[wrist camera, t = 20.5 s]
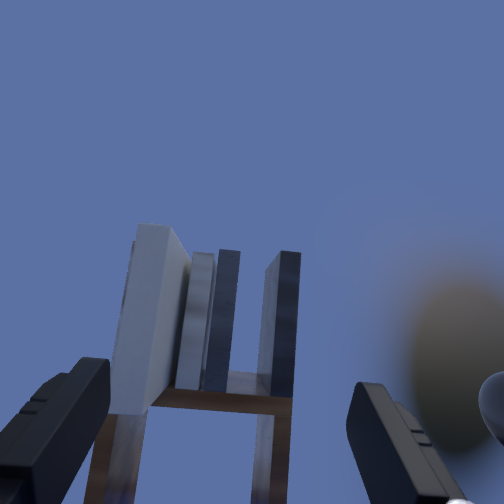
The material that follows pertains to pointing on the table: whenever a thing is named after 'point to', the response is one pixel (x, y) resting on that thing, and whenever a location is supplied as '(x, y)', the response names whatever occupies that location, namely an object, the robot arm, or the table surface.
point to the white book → (150, 320)
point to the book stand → (216, 378)
